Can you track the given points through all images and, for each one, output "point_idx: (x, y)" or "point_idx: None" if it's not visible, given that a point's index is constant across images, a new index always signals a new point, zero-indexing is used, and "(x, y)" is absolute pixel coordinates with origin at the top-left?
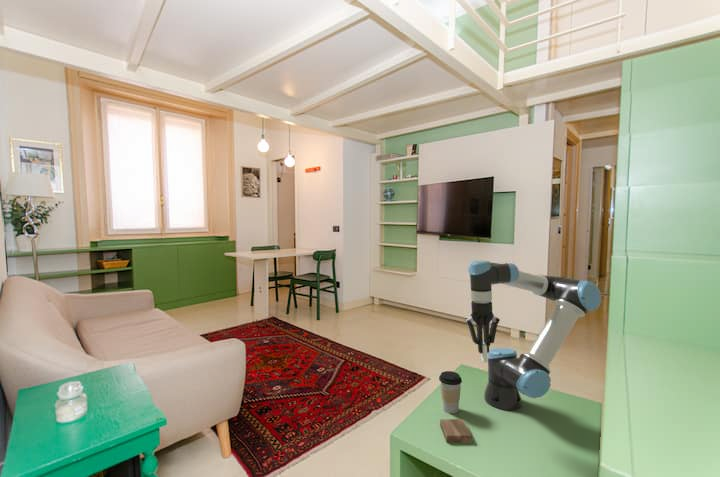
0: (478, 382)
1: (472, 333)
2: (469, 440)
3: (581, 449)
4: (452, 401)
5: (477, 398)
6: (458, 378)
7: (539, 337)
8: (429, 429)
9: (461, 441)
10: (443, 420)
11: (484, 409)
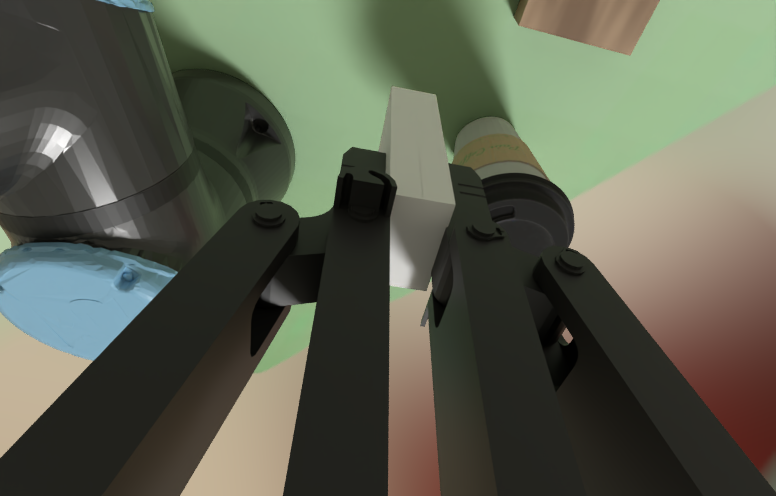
0: None
1: (727, 439)
2: None
3: None
4: (512, 138)
5: (319, 190)
6: (488, 203)
7: None
8: (688, 31)
9: None
10: (621, 41)
11: (335, 110)
